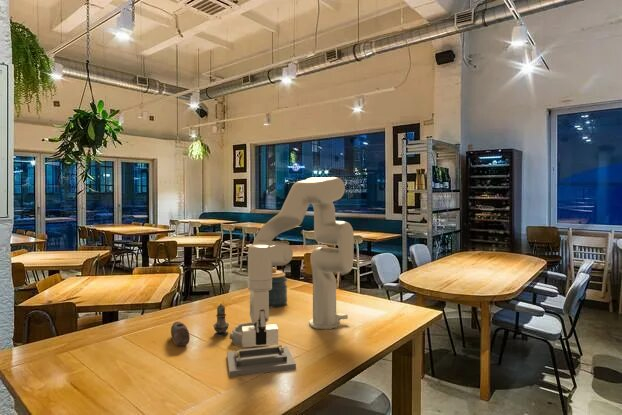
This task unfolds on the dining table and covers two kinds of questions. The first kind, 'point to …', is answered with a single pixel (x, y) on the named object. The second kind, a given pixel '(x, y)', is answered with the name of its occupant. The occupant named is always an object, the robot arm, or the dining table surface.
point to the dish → (239, 334)
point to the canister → (278, 289)
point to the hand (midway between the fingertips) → (259, 340)
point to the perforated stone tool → (180, 334)
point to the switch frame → (260, 360)
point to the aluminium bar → (250, 335)
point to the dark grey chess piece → (221, 322)
